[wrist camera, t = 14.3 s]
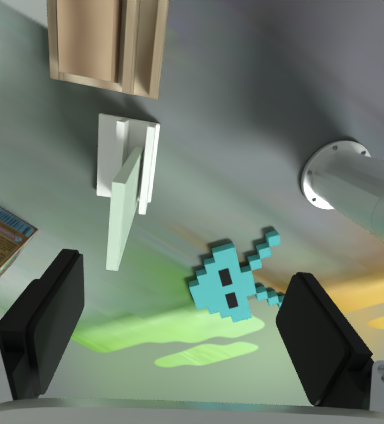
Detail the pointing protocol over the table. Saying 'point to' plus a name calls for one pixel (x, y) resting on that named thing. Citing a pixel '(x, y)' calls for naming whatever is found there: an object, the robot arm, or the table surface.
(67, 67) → the offcut upper
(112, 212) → the sheet
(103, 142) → the stand
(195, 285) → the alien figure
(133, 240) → the table surface
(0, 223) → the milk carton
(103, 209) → the table surface
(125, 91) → the rack
